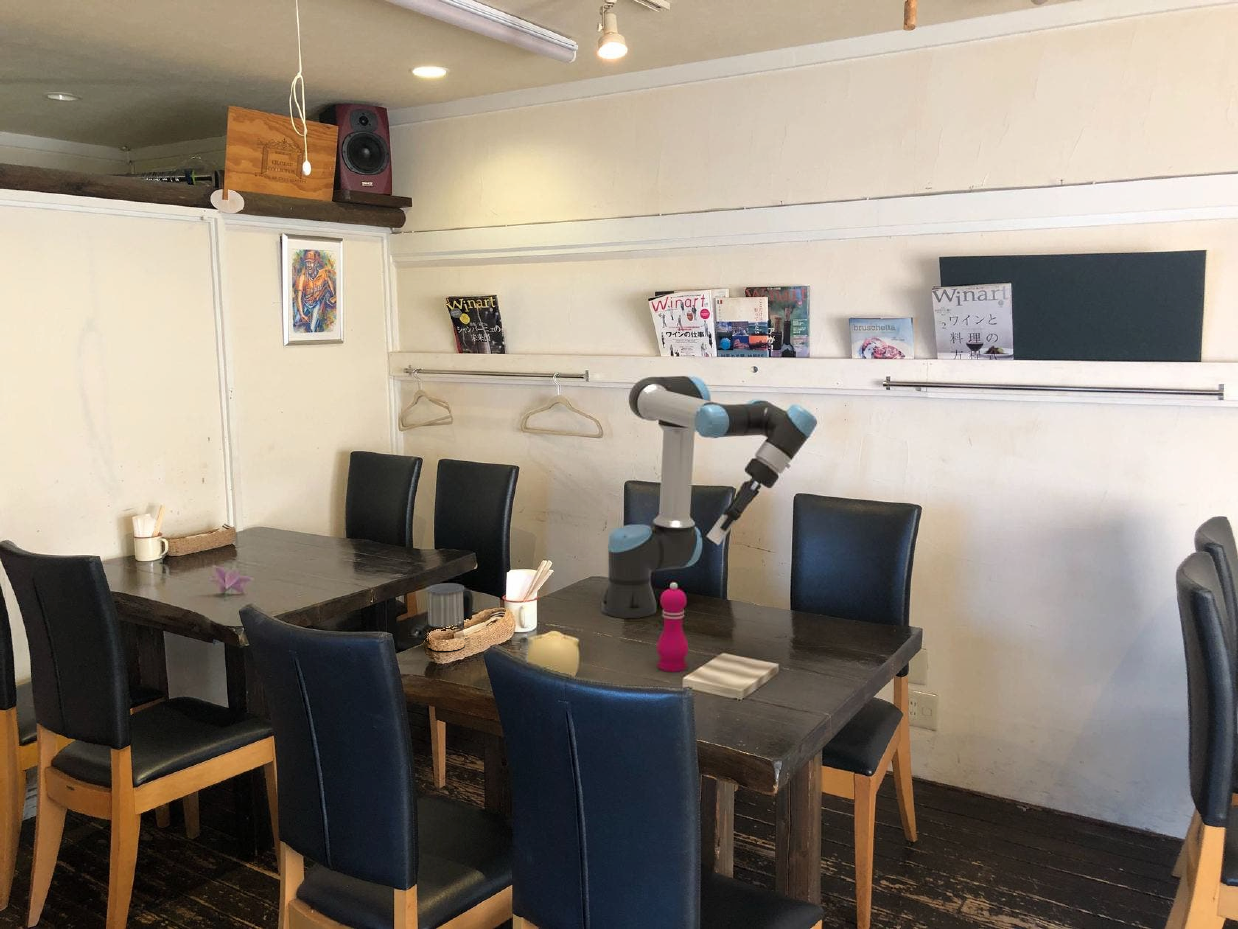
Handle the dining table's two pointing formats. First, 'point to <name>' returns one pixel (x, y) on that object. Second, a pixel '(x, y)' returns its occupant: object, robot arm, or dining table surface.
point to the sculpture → (554, 652)
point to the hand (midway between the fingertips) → (712, 540)
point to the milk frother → (445, 609)
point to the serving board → (731, 676)
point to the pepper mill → (672, 631)
